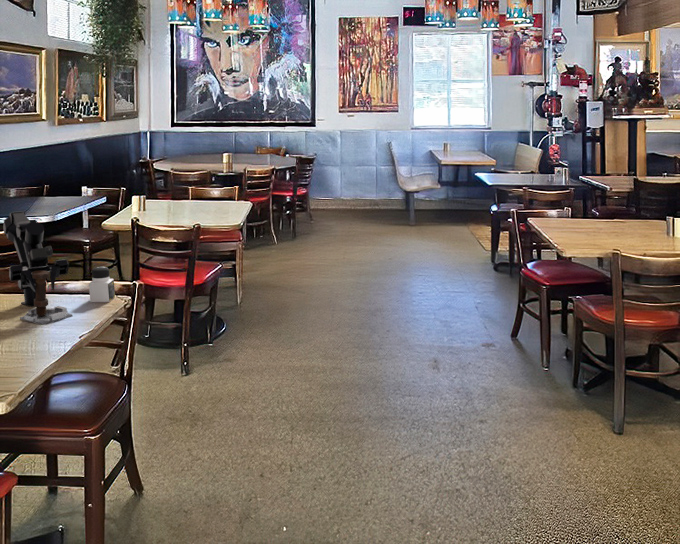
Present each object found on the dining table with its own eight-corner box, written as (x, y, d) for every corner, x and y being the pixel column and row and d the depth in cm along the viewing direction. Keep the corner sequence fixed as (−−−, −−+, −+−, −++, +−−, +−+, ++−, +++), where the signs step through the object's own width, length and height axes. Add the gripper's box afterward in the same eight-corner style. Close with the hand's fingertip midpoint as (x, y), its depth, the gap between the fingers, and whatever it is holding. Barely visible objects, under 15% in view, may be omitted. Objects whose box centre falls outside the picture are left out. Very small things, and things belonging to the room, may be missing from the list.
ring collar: (17, 319, 271) (16, 313, 270) (51, 310, 281) (50, 304, 281) (41, 325, 263) (40, 319, 263) (75, 315, 274) (74, 309, 273)
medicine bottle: (109, 302, 290) (107, 269, 287) (90, 302, 290) (87, 270, 288) (115, 297, 297) (112, 265, 294) (96, 297, 297) (93, 265, 294)
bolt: (38, 318, 269) (37, 275, 265) (29, 315, 272) (27, 272, 268) (53, 314, 274) (52, 272, 270) (44, 311, 276) (43, 269, 272)
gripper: (6, 241, 265) (15, 280, 258) (64, 235, 274) (75, 272, 267) (5, 261, 273) (14, 299, 266) (62, 255, 282) (72, 291, 275)
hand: (44, 290), depth 268 cm, fingers open, 5 cm apart
